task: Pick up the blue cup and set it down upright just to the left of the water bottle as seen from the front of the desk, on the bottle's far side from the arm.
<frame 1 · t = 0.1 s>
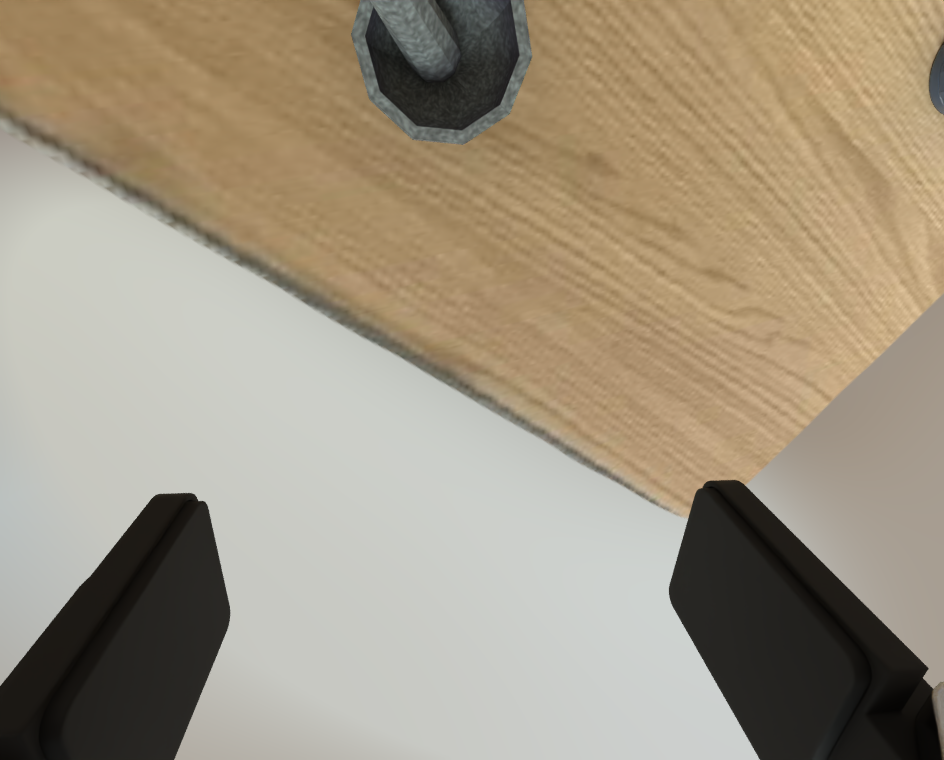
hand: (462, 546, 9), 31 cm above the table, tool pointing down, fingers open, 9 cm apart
mortar and pestle: (431, 60, 33), on the table
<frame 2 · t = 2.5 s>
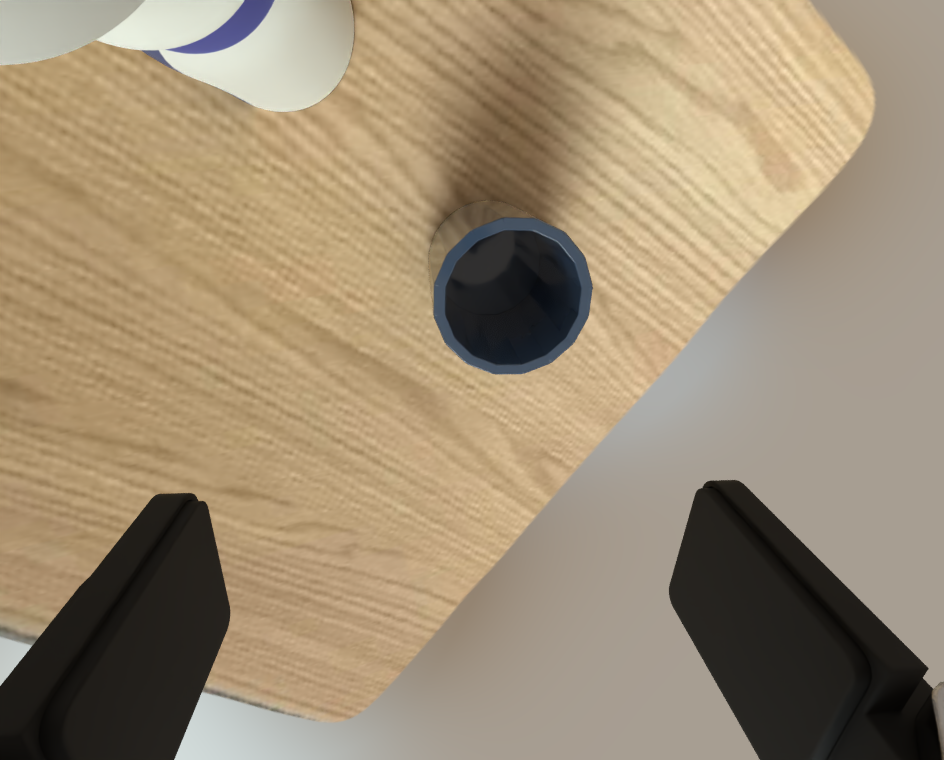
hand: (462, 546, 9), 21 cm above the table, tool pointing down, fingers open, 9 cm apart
blue cup: (487, 262, 28), on the table
water bottle: (264, 20, 23), on the table
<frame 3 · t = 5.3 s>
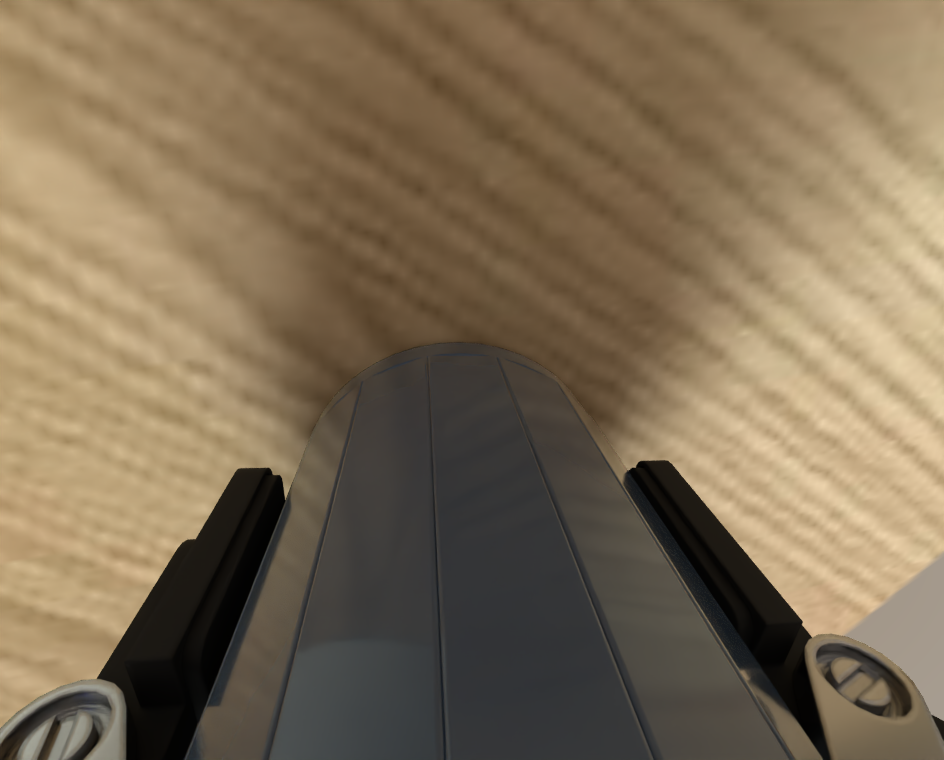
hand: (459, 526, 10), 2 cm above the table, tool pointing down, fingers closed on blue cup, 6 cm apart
blue cup: (454, 476, 12), on the table, touching gripper
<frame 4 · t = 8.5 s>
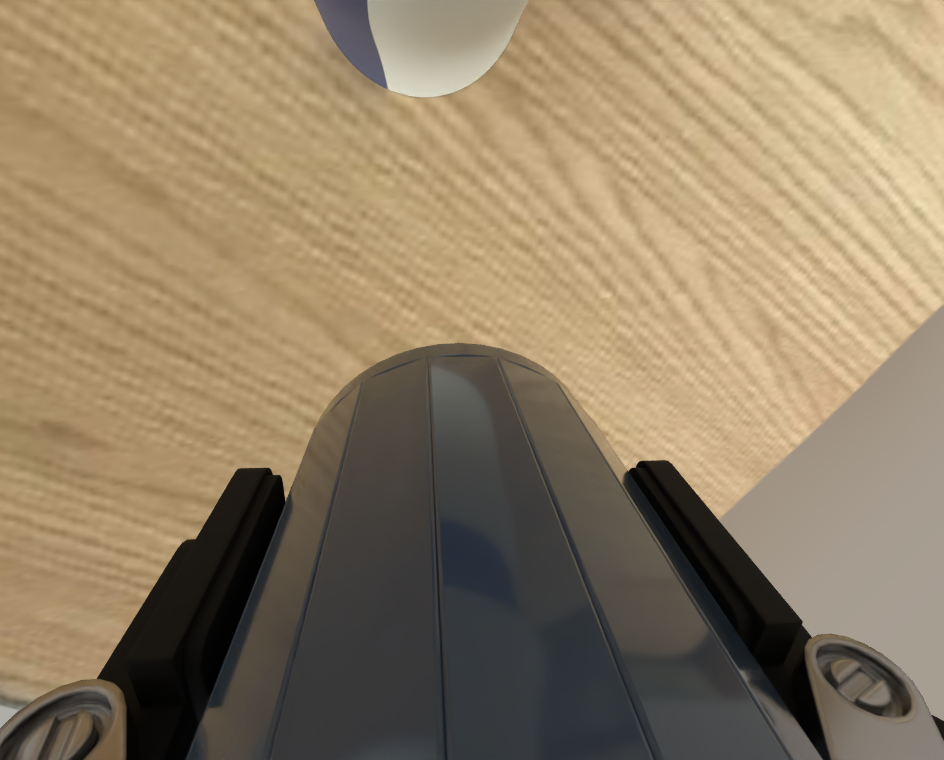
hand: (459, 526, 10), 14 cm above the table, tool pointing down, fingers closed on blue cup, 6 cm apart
blue cup: (454, 476, 12), point 12 cm above the table, touching gripper
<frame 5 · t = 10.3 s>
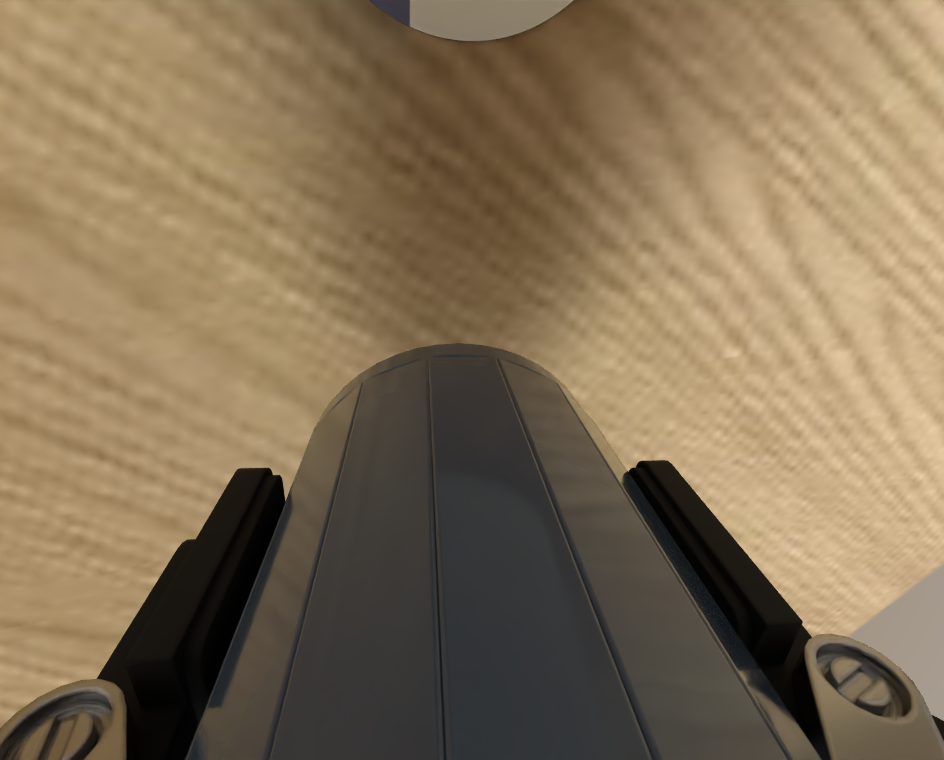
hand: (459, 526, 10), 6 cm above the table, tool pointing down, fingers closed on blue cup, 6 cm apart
blue cup: (454, 477, 12), point 4 cm above the table, touching gripper
when the fingers open (2 cm above the table, at t = 11.8 s): blue cup stays where it is, on the table.
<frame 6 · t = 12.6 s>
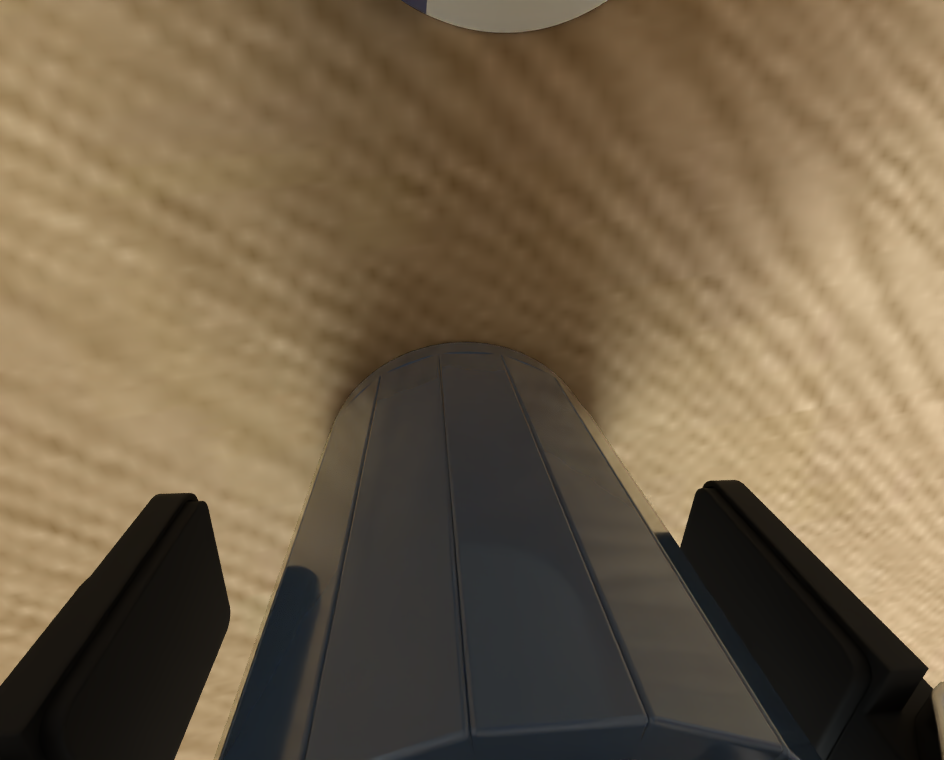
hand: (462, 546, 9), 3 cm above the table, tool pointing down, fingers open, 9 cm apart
blue cup: (461, 465, 13), on the table
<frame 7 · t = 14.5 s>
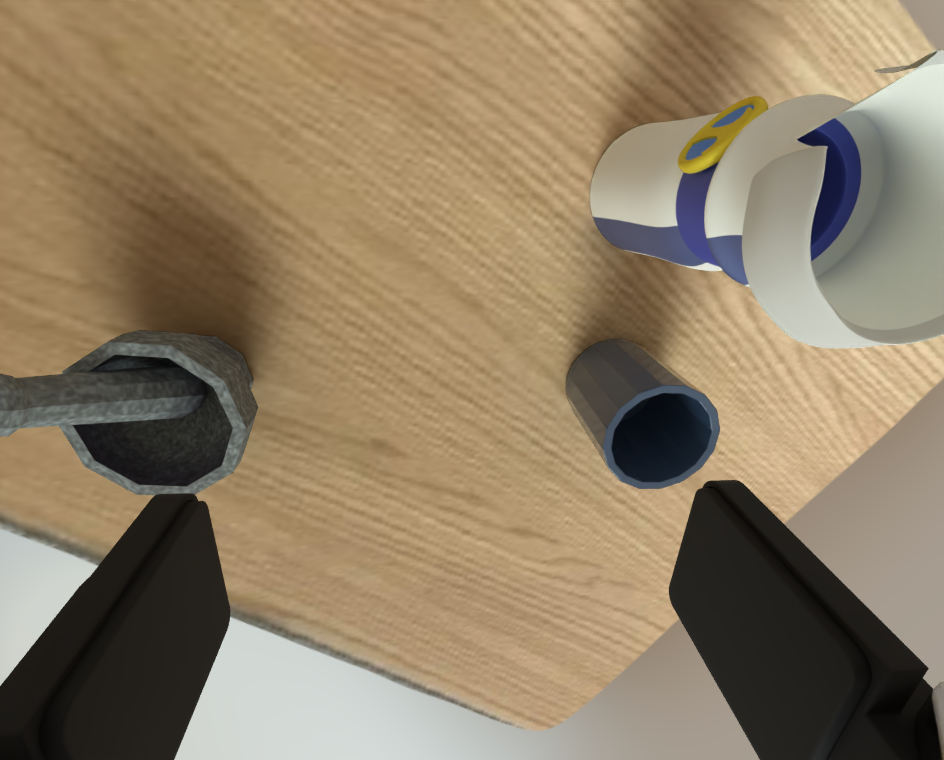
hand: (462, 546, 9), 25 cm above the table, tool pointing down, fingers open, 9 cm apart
mortar and pestle: (197, 370, 33), on the table
blue cup: (610, 382, 36), on the table
water bottle: (643, 192, 31), on the table
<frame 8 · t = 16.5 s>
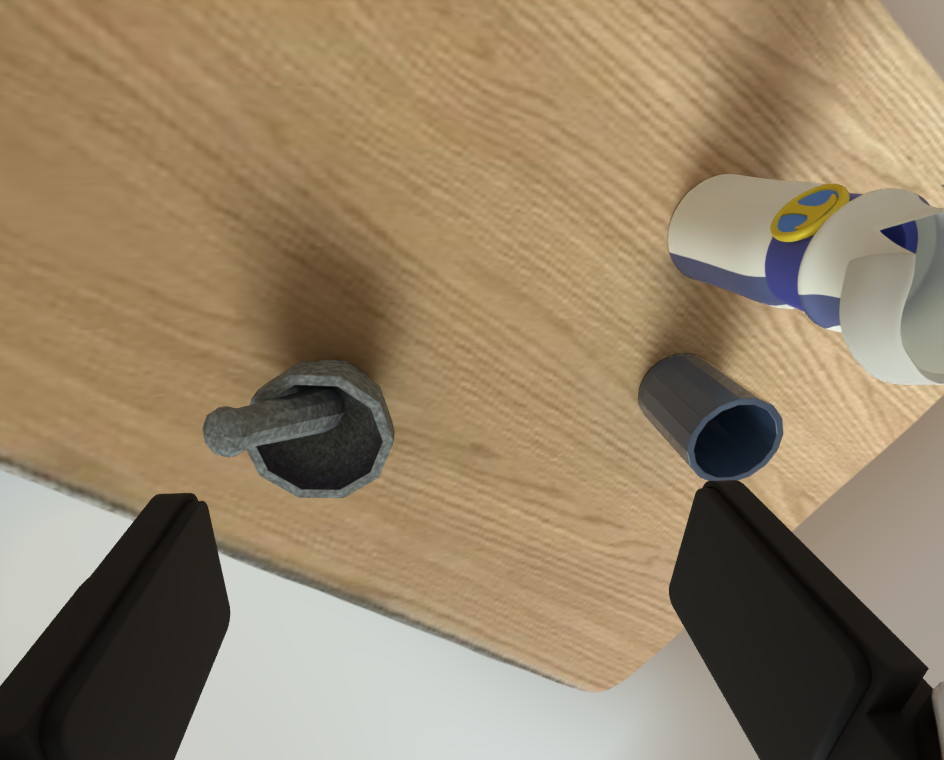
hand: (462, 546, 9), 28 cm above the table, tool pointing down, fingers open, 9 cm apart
mortar and pestle: (327, 389, 38), on the table
blue cup: (676, 390, 42), on the table
water bottle: (712, 230, 36), on the table
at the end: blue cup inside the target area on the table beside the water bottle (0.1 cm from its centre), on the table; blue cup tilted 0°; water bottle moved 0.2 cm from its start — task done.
